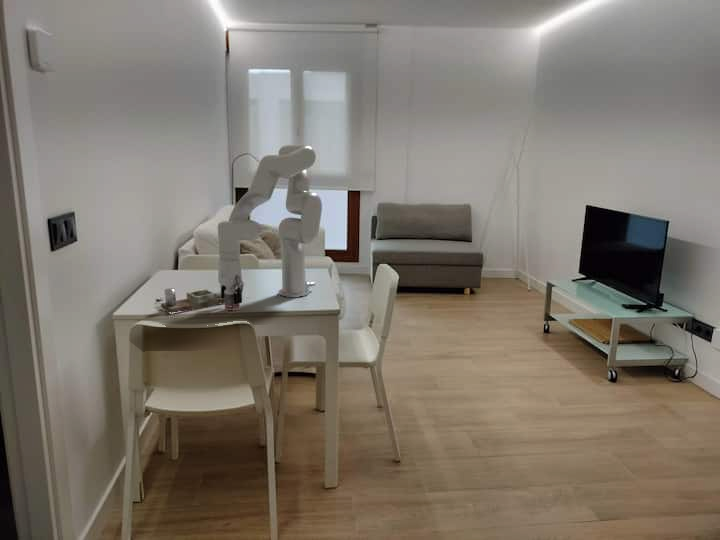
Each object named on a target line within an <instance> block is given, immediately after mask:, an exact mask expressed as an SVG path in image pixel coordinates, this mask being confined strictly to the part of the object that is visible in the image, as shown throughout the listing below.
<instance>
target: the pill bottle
mask: <svg viewBox="0 0 720 540" xmlns="http://www.w3.org/2000/svg"><path fill="white" fill-rule="evenodd" d="M236 285H237V284H236ZM237 288H238V287H236V289H237ZM233 293H234V291H233V288H232V287H231V288H228V287H226V290H225V291H224V298H225V304H224V310H225V309H226V310H225V311H227V310H236V311H238V310H237V309H239V310H240V303H239V304H234V301H233Z"/></svg>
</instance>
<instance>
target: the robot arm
mask: <svg viewBox="0 0 720 540" xmlns="http://www.w3.org/2000/svg"><path fill="white" fill-rule="evenodd" d="M316 154H317V153H316V152H315V150H314V149H313V147H311V146H309V145H297V144H294V145H293V144H288V145H287V144H285V145H283V146H281V147H280V148H279V150H278V154H277V155H276V154H269V155H265V156H263V157H262V158H261V159H260V162H259V164H258V166H257V169H256V172H255V174H254V177H253V178H252V182H251V184H250V187H249V189H248V190H247V192H245V194H243V196H242V197H241V198H240V199H239V200H238V201H237V202H236V204H235V205H234V207H233V209H232V211H231V213H230V216H229V217H228V218H229V219H228V220H226V221H221V222H218V225H217V237H218V238H217V240H218V256H219V257H218V258H219V259H218V270H217V272H218V273H217V276H218V277H217V279H218V284H220V285H219V287H220V292H221V298H222V299H223V298H224V291H225V290H226V287H228V288H231V287H232V288H233V291H234V293H233V301H234V304H239V305H240V304H242V303H243V289H244V285H245V284H244V283H245V282H244V281H243V278H242V276H243V275H242V267H241V261H240V260H241V244H240V243H241V241H255V240H257V239H258V238H259V237H260V236H261V234H262V227H261V225H260V223H258V222H257V221H255V220H253V219H249V216H250V214H251V213H252V212H253V211H254V210H255V209H256V208H258V207H259V206H261V205H263V204H265V203H267V202H268V201H270V200H271V197H272V196H273V193H274V190H275V187H276V186H277V182H278V180H279V179H285V180H286V179H288V183H287V192H286V198H285V209H286V210H287V212H289V213H290V214H292V215H296V216H300V218H298V217H286V218H284V219H282V220H281V221H280V222H279V224H278V237H279V241H280V246H281V247H280V248H281V249H280V250H281V283H282V286H281V287H282V288H280V289H279V290H278V295H279V296H281V295H282V296H281V297H284V296H286V297H285V298H301V297H300V296H302V297H305V295H306V296H308V295H309V294H310V289H309V288H311V287H315V286H316V283H315V281H310V282H309V281H306V251H305V247H304V245H311V244H313V243H315V242H316V240H317V238H318V235H319V230H320V225H321V217H322V210H323V204H322V203H323V202H322V200H321V197H320V196H319V195H318V194H317V193H315V192H311V191H310V184H311V183H310V182H311V178H310V177H311V176H310V173H309V171H308V169H310V168H311V167H312V166H313V165H314V164H315V161H316V157H317V156H316ZM236 284H237V285H236ZM236 287H237V288H236Z"/></svg>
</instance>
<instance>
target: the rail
mask: <svg viewBox="0 0 720 540" xmlns="http://www.w3.org/2000/svg"><path fill="white" fill-rule="evenodd" d="M220 303H225V298H223V299H222V298H221V291H220V292H213V291H211V290H209V289H207V288H205V289H201V290H195V291H194V290H193V291H189V292H186V298H184V299H179V300H176V306H173V307H167V306H166V302H163V303H160V308H161V307H162V308H163V309H165V310H167V311H168V312H171V313H172V312H178V311H185V310H191V311H193V310H192V309H195V310H199V309H198V308H200V309H204V308H203V307H205V308H209V307H208V306H210V307H214V306H213V305H215V306H217V305H216V304H220ZM220 305H221V304H220ZM163 309H162V310H163ZM168 312H167V313H168Z"/></svg>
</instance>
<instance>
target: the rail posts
mask: <svg viewBox="0 0 720 540" xmlns="http://www.w3.org/2000/svg"><path fill="white" fill-rule="evenodd" d="M176 297H177V296H176V288H172V287H171V288H166V289H164V299H165V303H166V306H167V307H173V306H176V301H177V300H176Z"/></svg>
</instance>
